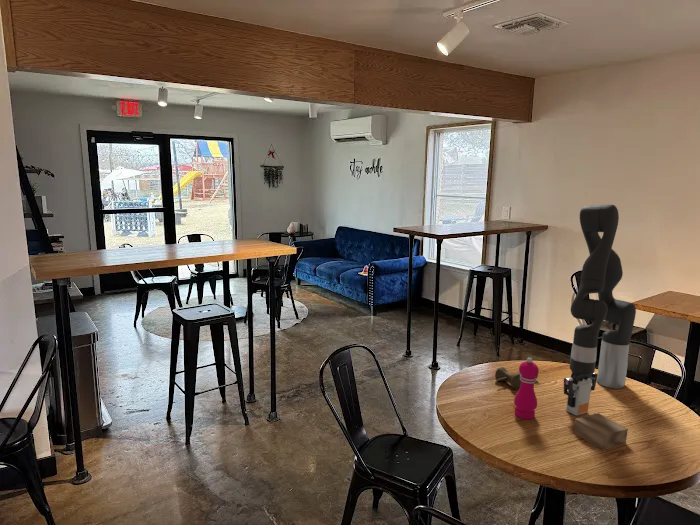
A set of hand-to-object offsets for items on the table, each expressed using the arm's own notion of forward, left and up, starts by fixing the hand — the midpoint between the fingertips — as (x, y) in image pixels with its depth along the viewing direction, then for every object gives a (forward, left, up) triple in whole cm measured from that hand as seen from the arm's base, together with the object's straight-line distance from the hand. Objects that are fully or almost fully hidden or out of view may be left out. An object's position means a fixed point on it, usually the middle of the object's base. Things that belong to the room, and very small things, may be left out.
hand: (577, 404), depth 157 cm
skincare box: (0, 0, -3) cm, 3 cm away
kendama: (+2, -26, -3) cm, 26 cm away
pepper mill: (+18, -6, -3) cm, 19 cm away
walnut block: (+8, +14, -3) cm, 16 cm away
